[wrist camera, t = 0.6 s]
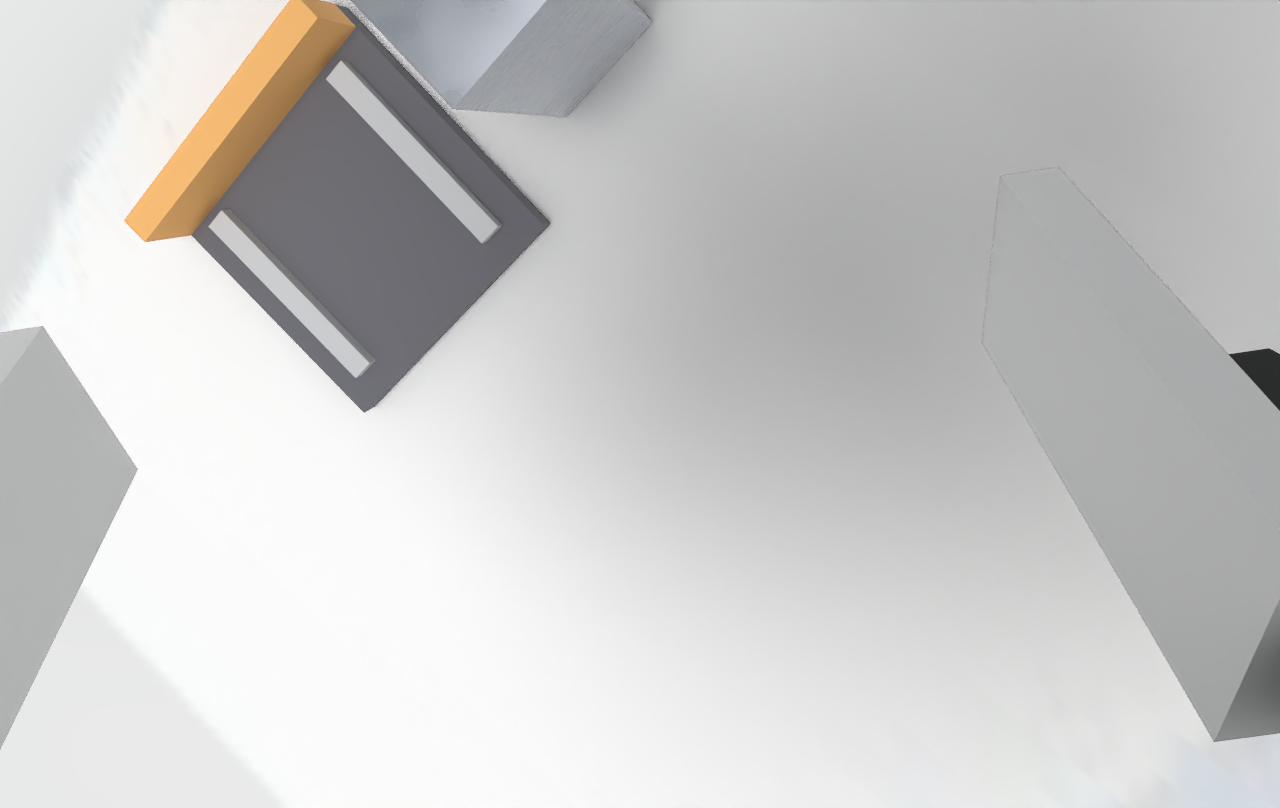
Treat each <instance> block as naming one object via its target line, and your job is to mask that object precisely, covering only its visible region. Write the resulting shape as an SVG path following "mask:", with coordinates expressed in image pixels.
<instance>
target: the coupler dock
mask: <svg viewBox="0 0 1280 808" xmlns="http://www.w3.org/2000/svg"><path fill="white" fill-rule="evenodd" d="M124 221H125V222H126V223H127V224H128V225H129V226H130V227H131V228H132V229H133V230H134V231H135V233H136V234H137V235H138V236H139V237H140V238H141V239H142V240H143V241H144V242H149V241H155V240H162V239H169V238H175V237H182V236H189V235H192V236H193V237H194V238H195V239H196V240H197V241H198V242H199V243H200V244H201V245H202V247H203V248H204V249H205V250H206V251H207V252H208V253H209V254H210V255H211V256H212V257H213V258H214V259H215V260H216V261H217V262H218V263H219V264H220V265H221V266H222V267H223V268H224V269H225V270H226V271H227V272H228V273H229V274H230V275H231V276H232V277H233V278H234V279H235V280H236V281H237V283H238V284H239V285H240V286H241V287H242V288H243V289H244V290H245V291H246V292H247V293H248V294H249V295H250V296H251V297H252V298H253V299H254V300H255V301H256V302H257V303H258V304H259V305H260V306H261V307H262V308H263V309H264V310H265V311H266V312H267V313H268V314H269V315H270V316H271V317H272V318H273V320H274V321H275V322H276V323H277V324H278V325H279V326H280V327H281V328H282V329H283V330H284V331H285V332H286V333H287V334H288V335H289V336H290V337H291V338H292V339H293V340H294V341H295V342H296V343H297V344H298V345H299V346H300V347H301V348H302V349H303V350H304V351H305V352H306V353H307V354H308V356H309V357H310V358H311V359H312V360H313V361H314V362H315V363H316V364H317V365H318V366H319V367H320V368H321V369H322V370H323V371H324V372H325V373H326V374H327V375H328V376H329V377H330V378H331V379H332V380H333V381H334V382H335V383H336V384H337V385H338V386H339V387H340V388H341V389H342V390H343V392H344V393H345V394H346V395H347V396H348V397H349V398H350V399H351V400H352V401H353V402H354V403H355V404H356V405H357V406H358V407H359V408H360V409H361V410H362V411H363V412H366V411H368V410H369V409H371V408H373V407H375V405H376V404H377V403H378V402H379V401H380V400H381V399H382V398H383V397H384V396H385V395H386V394H387V393H388V392H389V391H390V390H391V389H392V388H393V387H394V386H395V385H396V384H397V383H398V381H399V380H400V379H401V378H402V377H403V376H404V375H405V374H406V373H407V372H408V371H409V370H410V369H411V368H412V367H413V366H414V365H415V364H416V363H417V362H418V361H419V360H420V359H421V358H422V356H423V355H424V354H425V353H426V352H427V351H428V350H429V349H430V348H431V347H432V346H433V345H434V344H435V343H436V342H437V341H438V340H439V339H440V338H441V337H442V336H443V335H444V334H445V332H446V331H447V330H448V329H449V328H450V327H451V326H452V325H453V324H454V323H455V322H456V321H457V320H458V319H459V318H460V317H461V316H462V315H463V314H464V313H465V312H466V311H467V310H468V309H469V307H470V306H471V305H472V304H473V303H474V302H475V301H476V300H477V299H478V298H479V297H480V296H481V295H482V294H483V293H484V292H485V291H486V290H487V289H488V288H489V287H490V286H491V285H492V283H493V282H494V281H495V280H496V279H497V278H498V277H499V276H500V275H501V274H502V273H503V272H504V271H505V270H506V269H507V268H508V267H509V266H510V265H511V264H512V263H513V262H514V261H515V260H516V258H517V257H518V256H519V255H520V254H521V253H522V252H523V251H524V250H525V249H526V248H527V247H528V246H529V245H530V244H531V243H532V242H533V241H534V240H535V239H536V238H537V237H538V236H539V234H540V233H541V232H542V231H543V230H544V229H545V228H546V227H547V226H548V225H549V224H550V222H549V221H548V220H547V219H546V218H545V217H544V216H543V215H542V214H541V213H540V212H539V211H538V210H537V209H536V208H535V207H534V205H533V204H532V203H531V202H530V201H529V200H528V199H527V198H526V197H525V196H524V195H523V194H522V193H521V192H520V191H519V190H518V188H517V187H516V186H515V185H514V184H513V183H512V182H511V181H510V180H509V179H508V178H507V177H506V176H505V175H504V174H503V173H502V172H501V170H500V169H499V168H498V167H497V166H496V165H495V164H494V163H493V162H492V161H491V160H490V159H489V158H488V157H487V156H486V155H485V153H484V152H483V151H482V150H481V149H480V148H479V147H478V146H477V145H476V144H475V143H474V142H473V141H472V140H471V139H470V138H469V136H468V135H467V134H466V133H465V132H464V131H463V130H462V129H461V128H460V127H459V126H458V125H457V124H456V123H455V122H454V121H453V119H452V118H451V117H450V116H449V115H448V114H447V113H446V112H445V111H444V110H443V109H442V108H441V107H440V106H439V105H438V104H437V102H436V101H435V100H434V99H433V98H432V97H431V96H430V95H429V94H428V93H427V92H426V91H425V90H424V89H423V88H422V87H421V85H420V84H419V83H418V82H417V81H416V80H415V79H414V78H413V77H412V76H411V75H410V74H409V73H408V72H407V71H406V70H405V68H404V67H403V66H402V65H401V64H400V63H399V62H398V61H397V60H396V59H395V58H394V57H393V56H392V55H391V54H390V53H389V51H388V50H387V49H386V48H385V47H384V46H383V45H382V44H381V43H380V42H379V41H378V40H377V39H376V38H375V37H374V36H373V34H372V33H371V32H370V31H369V30H368V29H367V28H366V27H365V26H364V25H363V24H362V23H361V22H360V21H359V20H358V19H357V17H356V16H355V15H354V14H353V13H352V12H351V11H350V10H349V9H348V8H347V7H343V6H339V5H335V4H332V3H328V2H324V1H321V0H290V1H289V2H288V3H287V5H286V6H285V7H284V9H283V10H282V11H281V13H280V14H279V15H278V17H277V18H276V19H275V21H274V22H273V23H272V25H271V26H270V27H269V29H268V30H267V31H266V33H265V34H264V35H263V37H262V38H261V39H260V41H259V42H258V43H257V45H256V46H255V47H254V49H253V50H252V51H251V52H250V54H249V55H248V56H247V58H246V59H245V60H244V62H243V63H242V64H241V66H240V67H239V68H238V70H237V71H236V72H235V74H234V75H233V76H232V78H231V79H230V80H229V82H228V83H227V84H226V86H225V87H224V88H223V90H222V91H221V92H220V94H219V95H218V96H217V98H216V99H215V100H214V102H213V103H212V104H211V106H210V107H209V108H208V110H207V111H206V112H205V114H204V115H203V116H202V118H201V119H200V120H199V122H198V123H197V124H196V125H195V127H194V128H193V129H192V131H191V132H190V133H189V135H188V136H187V137H186V139H185V140H184V141H183V143H182V144H181V145H180V147H179V148H178V149H177V151H176V152H175V153H174V155H173V156H172V157H171V159H170V160H169V161H168V163H167V164H166V165H165V167H164V168H163V169H162V171H161V172H160V173H159V175H158V176H157V177H156V179H155V180H154V181H153V183H152V184H151V185H150V187H149V188H148V189H147V191H146V192H145V193H144V194H143V196H142V197H141V198H140V200H139V201H138V202H137V204H136V205H135V206H134V208H133V209H132V210H131V212H130V213H129V214H128V216H127V217H126V218H125V220H124Z"/></svg>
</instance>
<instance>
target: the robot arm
mask: <svg viewBox="0 0 1280 808" xmlns="http://www.w3.org/2000/svg"><path fill="white" fill-rule="evenodd" d="M982 344H983V346H984V347H985V349H986V351H987V352H988V354H989V356H990V358H991V359H992V361H993V363H994V364H995V366H996V368H997V370H998V371H999V373H1000V375H1001V376H1002V378H1003V380H1004V382H1005V383H1006V385H1007V387H1008V388H1009V390H1010V392H1011V394H1012V395H1013V397H1014V399H1015V401H1016V402H1017V404H1018V406H1019V407H1020V409H1021V411H1022V413H1023V414H1024V416H1025V418H1026V419H1027V421H1028V423H1029V425H1030V426H1031V428H1032V430H1033V431H1034V433H1035V435H1036V437H1037V438H1038V440H1039V442H1040V443H1041V445H1042V447H1043V449H1044V450H1045V452H1046V454H1047V456H1048V457H1049V459H1050V461H1051V462H1052V464H1053V466H1054V468H1055V469H1056V471H1057V473H1058V474H1059V476H1060V478H1061V480H1062V481H1063V483H1064V485H1065V486H1066V488H1067V490H1068V492H1069V493H1070V495H1071V497H1072V498H1073V500H1074V502H1075V504H1076V505H1077V507H1078V509H1079V511H1080V512H1081V514H1082V516H1083V517H1084V519H1085V521H1086V523H1087V524H1088V526H1089V528H1090V529H1091V531H1092V533H1093V535H1094V536H1095V538H1096V540H1097V541H1098V543H1099V545H1100V547H1101V548H1102V550H1103V552H1104V553H1105V555H1106V557H1107V559H1108V560H1109V562H1110V564H1111V565H1112V567H1113V569H1114V571H1115V572H1116V574H1117V576H1118V578H1119V579H1120V581H1121V583H1122V584H1123V586H1124V588H1125V590H1126V591H1127V593H1128V595H1129V596H1130V598H1131V600H1132V602H1133V603H1134V605H1135V607H1136V608H1137V610H1138V612H1139V614H1140V615H1141V617H1142V619H1143V620H1144V622H1145V624H1146V626H1147V627H1148V629H1149V631H1150V633H1151V634H1152V636H1153V638H1154V639H1155V641H1156V643H1157V645H1158V646H1159V648H1160V650H1161V651H1162V653H1163V655H1164V657H1165V658H1166V660H1167V662H1168V663H1169V665H1170V667H1171V669H1172V670H1173V672H1174V674H1175V675H1176V677H1177V679H1178V681H1179V682H1180V684H1181V686H1182V687H1183V689H1184V691H1185V693H1186V694H1187V696H1188V698H1189V700H1190V701H1191V703H1192V705H1193V706H1194V708H1195V710H1196V712H1197V713H1198V715H1199V717H1200V718H1201V720H1202V722H1203V724H1204V725H1205V727H1206V729H1207V730H1208V732H1209V734H1210V736H1211V737H1212V739H1213V741H1214V742H1217V741H1224V740H1232V739H1239V738H1247V737H1254V736H1262V735H1269V734H1277V733H1280V354H1278V353H1276V352H1275V351H1273V350H1271V349H1262V350H1255V351H1249V352H1242V353H1235V354H1228V353H1227V352H1226V351H1225V350H1224V349H1223V348H1222V347H1221V346H1220V344H1219V343H1218V342H1217V341H1216V340H1215V339H1214V338H1213V337H1212V336H1211V335H1210V333H1209V332H1208V331H1207V330H1206V329H1205V328H1204V327H1203V326H1202V325H1201V324H1200V322H1199V321H1198V320H1197V319H1196V318H1195V317H1194V316H1193V315H1192V314H1191V312H1190V311H1189V310H1188V309H1187V308H1186V307H1185V306H1184V305H1183V304H1182V303H1181V301H1180V300H1179V299H1178V298H1177V297H1176V296H1175V295H1174V294H1173V293H1172V291H1171V290H1170V289H1169V288H1168V287H1167V286H1166V285H1165V284H1164V283H1163V282H1162V280H1161V279H1160V278H1159V277H1158V276H1157V275H1156V274H1155V273H1154V272H1153V271H1152V269H1151V268H1150V267H1149V266H1148V265H1147V264H1146V263H1145V262H1144V261H1143V259H1142V258H1141V257H1140V256H1139V255H1138V254H1137V253H1136V252H1135V251H1134V250H1133V248H1132V247H1131V246H1130V245H1129V244H1128V243H1127V242H1126V241H1125V240H1124V238H1123V237H1122V236H1121V235H1120V234H1119V233H1118V232H1117V231H1116V230H1115V229H1114V227H1113V226H1112V225H1111V224H1110V223H1109V222H1108V221H1107V220H1106V219H1105V218H1104V216H1103V215H1102V214H1101V213H1100V212H1099V211H1098V210H1097V209H1096V208H1095V206H1094V205H1093V204H1092V203H1091V202H1090V201H1089V200H1088V199H1087V198H1086V197H1085V195H1084V194H1083V193H1082V192H1081V191H1080V190H1079V189H1078V188H1077V187H1076V186H1075V184H1074V183H1073V182H1072V181H1071V180H1070V179H1069V178H1068V177H1067V176H1066V174H1065V173H1064V172H1063V171H1062V170H1061V169H1060V168H1059V167H1054V168H1047V169H1041V170H1034V171H1028V172H1022V173H1015V174H1009V175H1003V176H1000V183H999V192H998V201H997V210H996V219H995V228H994V237H993V246H992V255H991V264H990V273H989V281H988V290H987V299H986V308H985V317H984V326H983V335H982ZM137 470H138V469H137V468H136V466H135V465H134V463H133V462H132V460H131V458H130V457H129V455H128V454H127V452H126V451H125V449H124V448H123V446H122V445H121V443H120V442H119V440H118V439H117V437H116V436H115V434H114V433H113V431H112V430H111V428H110V427H109V425H108V424H107V422H106V421H105V419H104V418H103V416H102V415H101V413H100V412H99V410H98V409H97V407H96V406H95V404H94V403H93V401H92V399H91V398H90V396H89V395H88V393H87V392H86V390H85V389H84V387H83V386H82V384H81V383H80V381H79V380H78V378H77V377H76V375H75V374H74V372H73V371H72V369H71V368H70V366H69V365H68V363H67V362H66V360H65V359H64V357H63V356H62V354H61V353H60V351H59V350H58V348H57V347H56V345H55V343H54V342H53V340H52V339H51V337H50V336H49V334H48V333H47V331H46V330H45V328H44V327H43V326H40V327H33V328H27V329H21V330H14V331H8V332H2V333H0V749H1V747H2V745H3V743H4V741H5V739H6V737H7V735H8V733H9V730H10V728H11V726H12V724H13V722H14V720H15V718H16V716H17V714H18V712H19V710H20V708H21V706H22V704H23V702H24V700H25V698H26V696H27V694H28V692H29V690H30V688H31V686H32V684H33V682H34V679H35V678H36V676H37V673H38V671H39V669H40V667H41V665H42V663H43V661H44V659H45V657H46V655H47V653H48V651H49V649H50V647H51V645H52V643H53V641H54V639H55V637H56V634H57V633H58V631H59V629H60V627H61V625H62V623H63V621H64V618H65V616H66V614H67V612H68V610H69V608H70V606H71V604H72V602H73V600H74V598H75V596H76V594H77V592H78V590H79V588H80V586H81V584H82V582H83V580H84V578H85V576H86V574H87V572H88V570H89V568H90V566H91V563H92V561H93V559H94V557H95V555H96V553H97V551H98V549H99V547H100V545H101V543H102V541H103V539H104V537H105V535H106V533H107V531H108V529H109V527H110V525H111V523H112V521H113V519H114V517H115V515H116V513H117V511H118V509H119V506H120V504H121V502H122V500H123V498H124V496H125V494H126V492H127V490H128V488H129V486H130V484H131V482H132V480H133V478H134V476H135V474H136V472H137Z"/></svg>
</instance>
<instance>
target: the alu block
mask: <svg viewBox="0 0 1280 808" xmlns="http://www.w3.org/2000/svg"><path fill="white" fill-rule="evenodd" d="M351 1H352V2H353V3H354V4H355V5H356V6H357V7H358V9H359V10H360V11H361V12H362V13H363V14H364V15H365V16H366V17H367V18H368V19H369V20H370V21H371V22H372V23H373V24H374V26H375V27H376V28H377V29H378V30H379V31H380V32H381V33H382V34H383V35H384V36H385V37H386V38H387V39H388V40H389V41H390V43H391V44H392V45H393V46H394V47H395V48H396V49H397V50H398V51H399V52H400V53H401V54H402V55H403V56H404V57H405V58H406V60H407V61H408V62H409V63H410V64H411V65H412V66H413V67H414V68H415V69H416V70H417V71H418V72H419V73H420V74H421V75H422V77H423V78H424V79H425V80H426V81H427V82H428V83H429V84H430V85H431V86H432V87H433V88H434V89H435V90H436V91H437V92H438V94H439V95H440V96H441V97H442V98H443V99H444V100H445V101H446V102H447V103H448V104H449V105H450V106H451V107H452V108H453V109H461V110H475V111H489V112H502V113H516V114H530V115H544V116H557V117H566V116H567V115H568V114H569V113H570V112H571V111H572V110H573V109H574V108H575V107H576V105H577V104H578V103H579V102H580V101H581V100H582V99H583V98H584V97H585V96H586V95H587V94H588V92H589V91H590V90H591V89H592V88H593V87H594V86H595V85H596V84H597V83H598V82H599V80H600V79H601V78H602V77H603V76H604V75H605V74H606V73H607V72H608V71H609V70H610V69H611V67H612V66H613V65H614V64H615V63H616V62H617V61H618V60H619V59H620V58H621V57H622V55H623V54H624V53H625V52H626V51H627V50H628V49H629V48H630V47H631V46H632V45H633V43H634V42H635V41H636V40H637V39H638V38H639V37H640V36H641V35H642V34H643V33H644V32H645V30H646V29H647V28H648V27H649V26H650V25H651V24H652V23H653V22H652V21H651V20H650V18H649V17H648V16H647V15H646V14H645V13H644V12H643V11H642V10H641V9H640V8H639V6H638V5H637V4H636V3H635V2H634V1H633V0H351Z"/></svg>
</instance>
